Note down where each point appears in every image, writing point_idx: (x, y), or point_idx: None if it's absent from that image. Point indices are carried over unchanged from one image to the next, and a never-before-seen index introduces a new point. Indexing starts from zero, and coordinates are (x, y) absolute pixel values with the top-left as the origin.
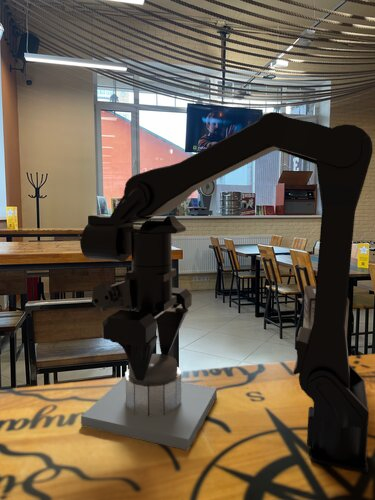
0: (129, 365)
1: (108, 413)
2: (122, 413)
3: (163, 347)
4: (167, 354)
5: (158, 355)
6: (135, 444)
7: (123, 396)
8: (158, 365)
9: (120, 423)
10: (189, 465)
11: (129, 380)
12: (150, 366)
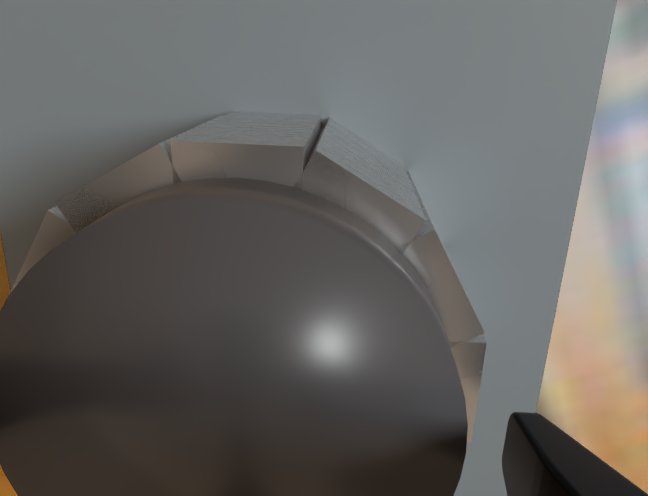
0: (77, 242)
1: (49, 77)
2: (87, 161)
3: (534, 492)
4: (504, 475)
5: (422, 427)
6: (6, 277)
7: (265, 72)
8: (196, 492)
9: (1, 195)
10: (3, 490)
11: (39, 249)
12: (150, 436)
